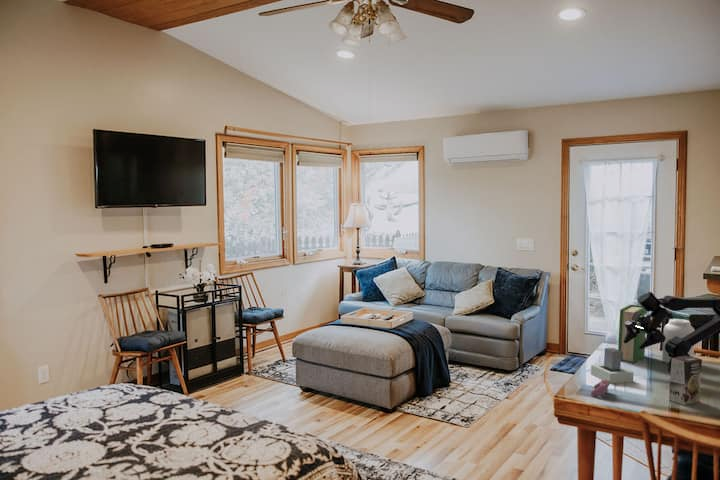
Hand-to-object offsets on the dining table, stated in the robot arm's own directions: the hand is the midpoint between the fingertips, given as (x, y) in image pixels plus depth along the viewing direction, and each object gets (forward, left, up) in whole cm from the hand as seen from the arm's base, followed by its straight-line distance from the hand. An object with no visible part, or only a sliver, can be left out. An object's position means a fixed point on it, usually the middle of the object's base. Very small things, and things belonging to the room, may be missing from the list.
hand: (631, 345), depth 234 cm
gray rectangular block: (+9, +7, -13) cm, 17 cm away
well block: (+9, +7, -13) cm, 17 cm away
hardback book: (-8, -28, -13) cm, 32 cm away
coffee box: (-10, +29, -13) cm, 34 cm away
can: (-27, -25, -13) cm, 39 cm away
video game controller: (+19, +29, -13) cm, 37 cm away
